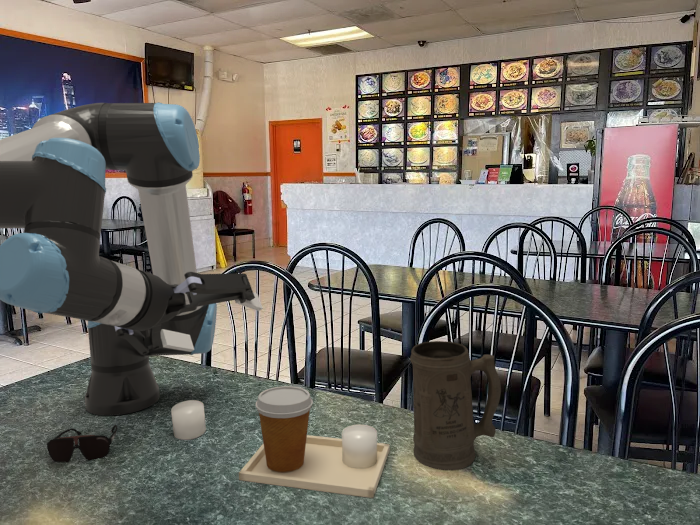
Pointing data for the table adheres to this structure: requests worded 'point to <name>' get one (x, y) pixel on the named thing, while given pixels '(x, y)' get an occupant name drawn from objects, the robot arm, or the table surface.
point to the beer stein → (449, 404)
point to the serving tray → (320, 470)
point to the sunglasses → (80, 446)
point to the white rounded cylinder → (359, 446)
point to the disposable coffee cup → (284, 426)
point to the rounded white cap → (188, 419)
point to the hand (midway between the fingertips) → (223, 323)
